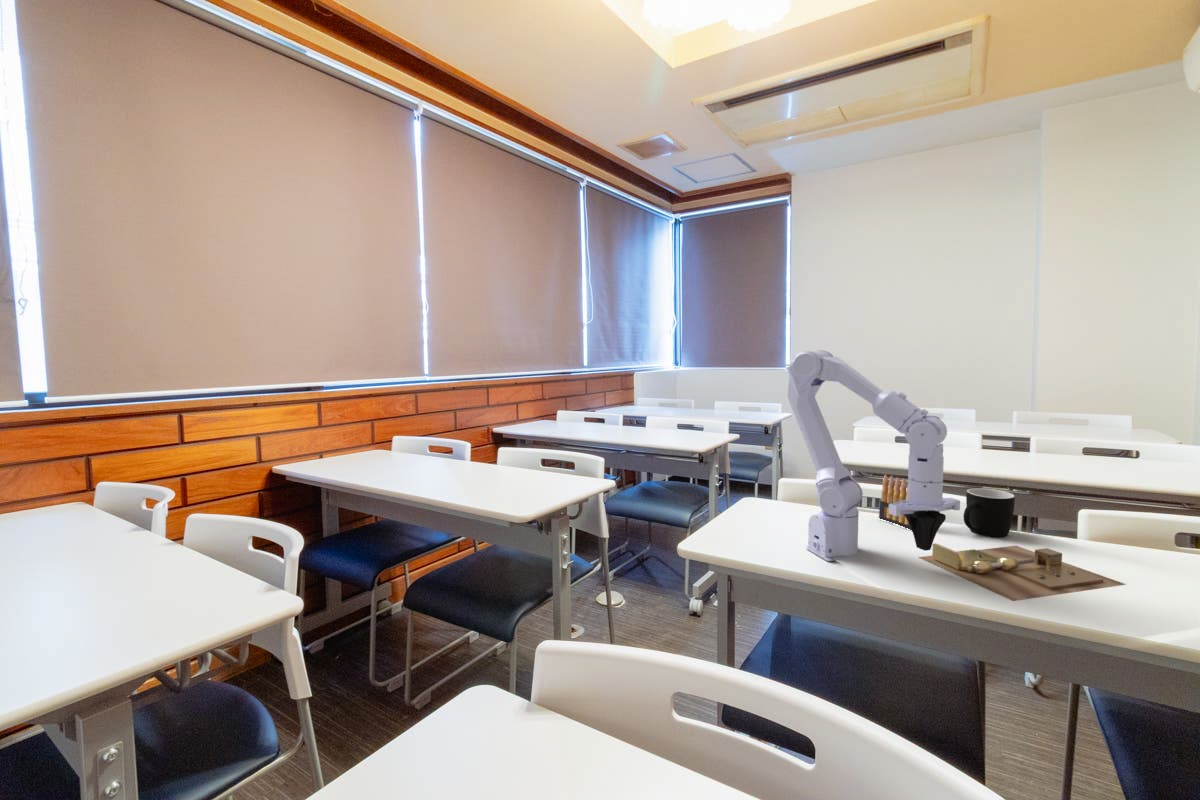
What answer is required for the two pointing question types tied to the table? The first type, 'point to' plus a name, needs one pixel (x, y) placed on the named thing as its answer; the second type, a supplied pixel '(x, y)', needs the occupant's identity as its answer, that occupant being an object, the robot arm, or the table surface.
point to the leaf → (975, 560)
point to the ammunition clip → (893, 500)
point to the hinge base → (1055, 572)
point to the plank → (1011, 584)
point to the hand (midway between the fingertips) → (923, 548)
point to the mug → (989, 512)
